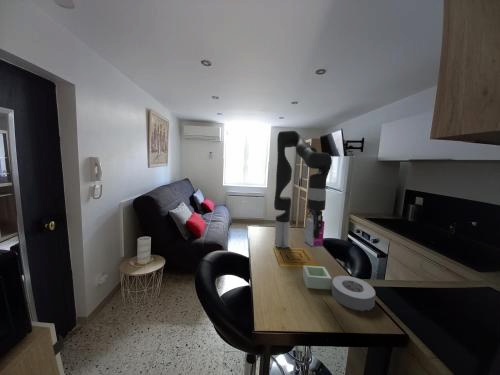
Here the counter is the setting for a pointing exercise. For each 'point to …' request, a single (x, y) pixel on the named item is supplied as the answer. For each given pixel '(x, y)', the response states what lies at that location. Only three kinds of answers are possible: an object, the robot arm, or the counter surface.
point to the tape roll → (353, 293)
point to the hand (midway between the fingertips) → (314, 235)
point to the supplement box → (310, 234)
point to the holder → (316, 277)
